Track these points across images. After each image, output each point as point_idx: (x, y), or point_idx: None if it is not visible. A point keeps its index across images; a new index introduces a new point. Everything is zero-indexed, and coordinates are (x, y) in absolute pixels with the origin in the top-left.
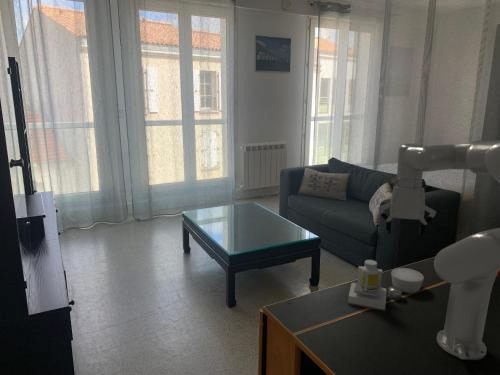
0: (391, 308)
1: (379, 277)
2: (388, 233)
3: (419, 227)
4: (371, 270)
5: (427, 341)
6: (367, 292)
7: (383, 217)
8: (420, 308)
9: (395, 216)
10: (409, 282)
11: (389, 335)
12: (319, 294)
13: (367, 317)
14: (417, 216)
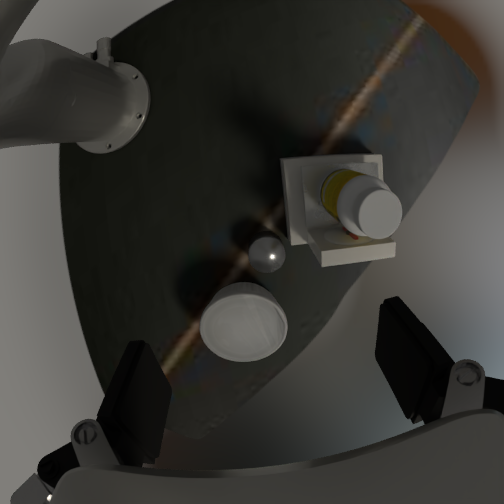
0: (265, 180)
1: (322, 242)
2: (395, 296)
3: (164, 425)
4: (365, 186)
5: (169, 80)
6: (341, 165)
7: (501, 382)
8: (195, 218)
9: (460, 426)
10: (232, 292)
11: (252, 58)
12: (433, 172)
13: (316, 108)
14: (109, 501)
